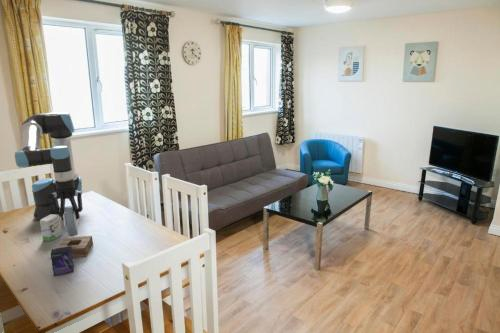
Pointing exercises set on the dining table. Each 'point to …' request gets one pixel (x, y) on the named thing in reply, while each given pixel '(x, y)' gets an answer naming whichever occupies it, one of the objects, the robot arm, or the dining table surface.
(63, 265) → the box
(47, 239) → the ink box
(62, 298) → the dining table surface
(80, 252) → the socket
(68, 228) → the peg
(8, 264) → the dining table surface
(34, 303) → the dining table surface
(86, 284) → the dining table surface
